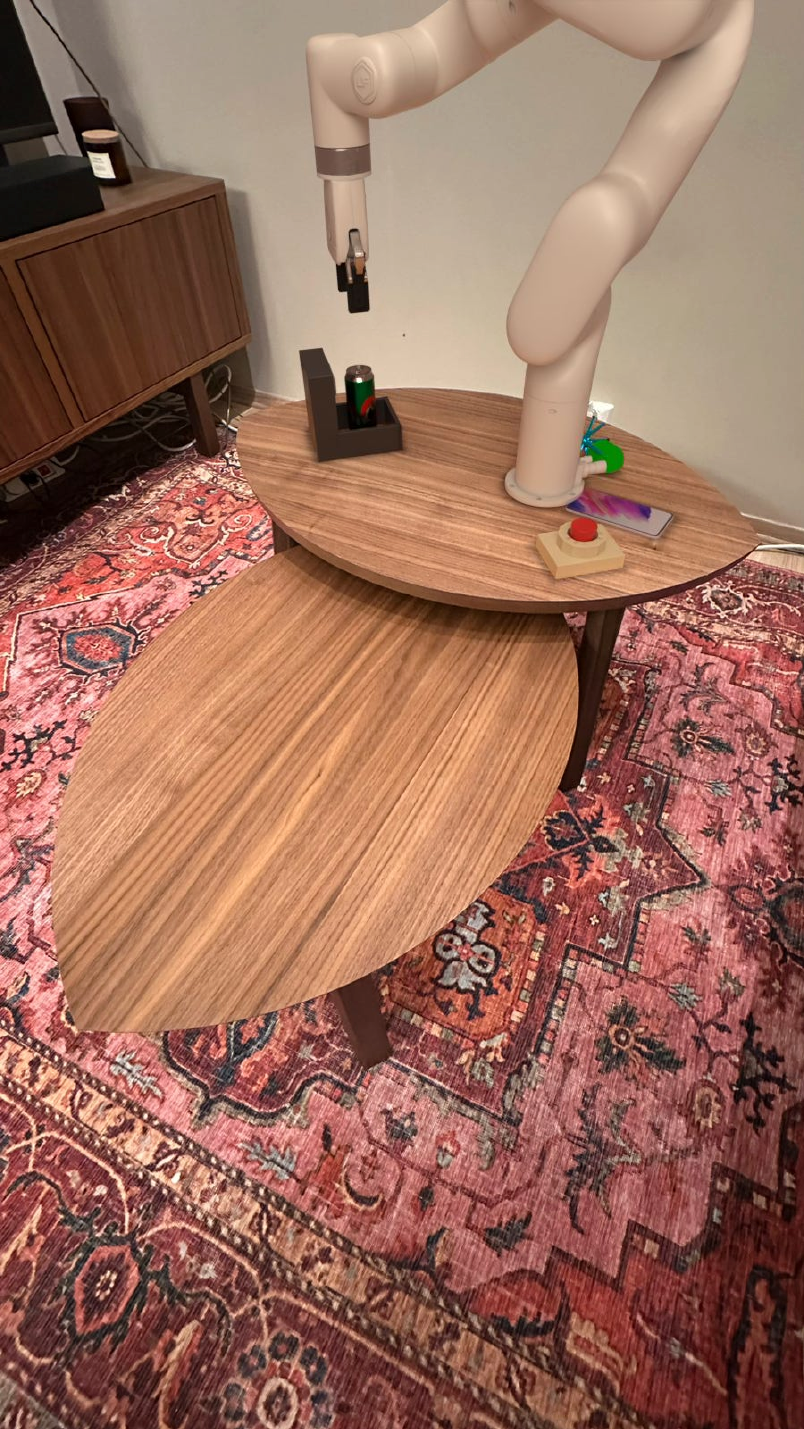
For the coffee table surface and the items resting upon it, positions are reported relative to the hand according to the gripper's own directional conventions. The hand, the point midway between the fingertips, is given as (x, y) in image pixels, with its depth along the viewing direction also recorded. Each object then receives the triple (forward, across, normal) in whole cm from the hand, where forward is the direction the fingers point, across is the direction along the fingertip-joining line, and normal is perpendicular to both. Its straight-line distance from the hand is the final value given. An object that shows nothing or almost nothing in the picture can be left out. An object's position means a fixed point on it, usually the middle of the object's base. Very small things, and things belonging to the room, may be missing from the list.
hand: (353, 301), depth 106 cm
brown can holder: (+22, 0, -1) cm, 22 cm away
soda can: (+22, 0, 0) cm, 22 cm away
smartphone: (+23, +34, +33) cm, 53 cm away
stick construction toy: (+22, +18, +36) cm, 46 cm away
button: (+19, +43, +23) cm, 52 cm away
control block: (+22, +43, +23) cm, 54 cm away
